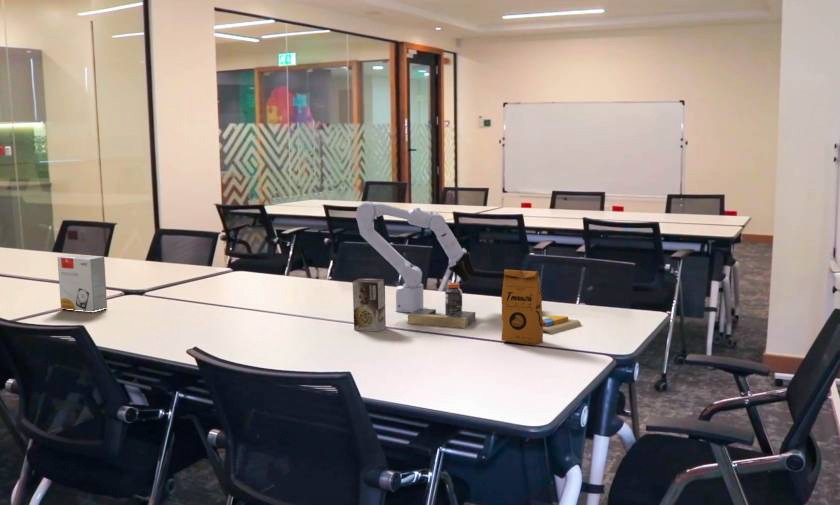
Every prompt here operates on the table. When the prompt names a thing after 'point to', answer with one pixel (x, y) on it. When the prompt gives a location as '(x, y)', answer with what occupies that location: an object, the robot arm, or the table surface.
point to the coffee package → (522, 308)
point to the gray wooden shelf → (441, 318)
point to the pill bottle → (453, 299)
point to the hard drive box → (82, 282)
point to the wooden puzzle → (558, 323)
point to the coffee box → (369, 304)
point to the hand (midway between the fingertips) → (469, 276)
